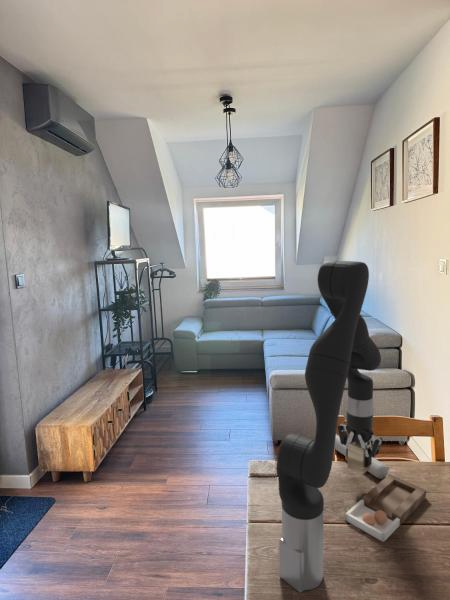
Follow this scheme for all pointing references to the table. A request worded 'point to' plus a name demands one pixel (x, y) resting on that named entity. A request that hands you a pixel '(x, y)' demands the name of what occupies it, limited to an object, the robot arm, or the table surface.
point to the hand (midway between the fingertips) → (358, 462)
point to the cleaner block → (356, 458)
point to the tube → (375, 468)
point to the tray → (376, 530)
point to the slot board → (394, 498)
